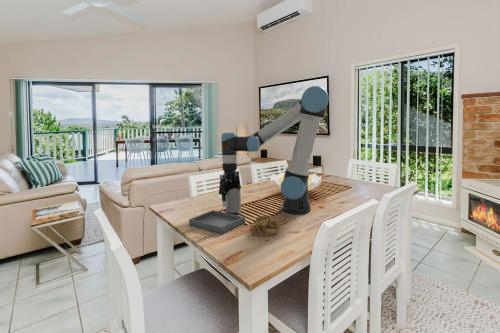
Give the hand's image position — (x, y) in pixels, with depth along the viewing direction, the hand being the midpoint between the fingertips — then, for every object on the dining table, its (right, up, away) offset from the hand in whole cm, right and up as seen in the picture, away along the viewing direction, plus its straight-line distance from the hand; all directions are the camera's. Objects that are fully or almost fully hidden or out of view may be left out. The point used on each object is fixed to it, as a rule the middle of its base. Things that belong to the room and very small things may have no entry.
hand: (230, 204), depth 158 cm
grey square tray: (-5, -7, -17) cm, 19 cm away
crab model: (+17, -9, -26) cm, 32 cm away
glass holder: (+1, -3, +1) cm, 3 cm away
